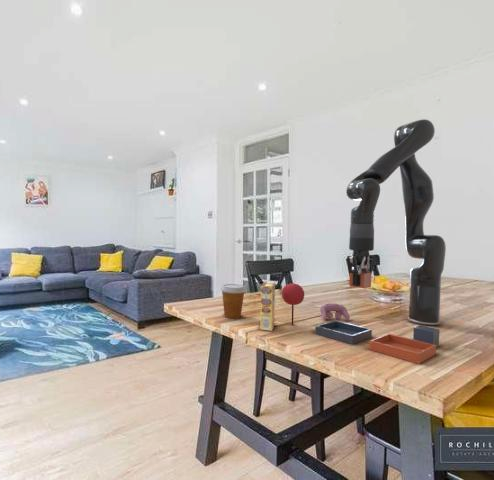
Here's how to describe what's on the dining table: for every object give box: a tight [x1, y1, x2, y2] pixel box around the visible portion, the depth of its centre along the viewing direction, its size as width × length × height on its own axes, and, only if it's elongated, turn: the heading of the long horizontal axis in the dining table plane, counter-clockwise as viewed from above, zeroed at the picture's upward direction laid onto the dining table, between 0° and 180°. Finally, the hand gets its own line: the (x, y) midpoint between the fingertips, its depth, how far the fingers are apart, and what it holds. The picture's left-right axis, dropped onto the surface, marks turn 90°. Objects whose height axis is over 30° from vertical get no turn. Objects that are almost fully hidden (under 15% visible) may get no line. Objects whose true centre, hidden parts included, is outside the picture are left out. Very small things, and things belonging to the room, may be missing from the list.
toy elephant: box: [319, 302, 350, 322], centre depth 128 cm, size 10×5×7 cm, turn 84°
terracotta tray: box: [368, 333, 437, 365], centre depth 94 cm, size 12×12×3 cm
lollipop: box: [281, 283, 305, 326], centre depth 119 cm, size 8×8×15 cm
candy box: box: [259, 281, 276, 332], centre depth 115 cm, size 9×4×15 cm, turn 159°
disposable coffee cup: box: [220, 283, 246, 319], centre depth 129 cm, size 10×10×12 cm
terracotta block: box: [348, 272, 372, 289], centre depth 116 cm, size 5×5×5 cm
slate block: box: [412, 324, 440, 348], centre depth 100 cm, size 5×5×5 cm
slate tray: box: [314, 320, 373, 345], centre depth 108 cm, size 12×12×3 cm
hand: (360, 284), depth 116 cm, fingers closed on terracotta block, 5 cm apart
